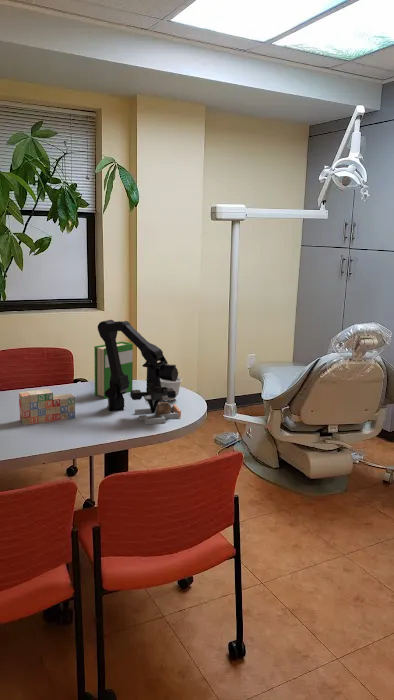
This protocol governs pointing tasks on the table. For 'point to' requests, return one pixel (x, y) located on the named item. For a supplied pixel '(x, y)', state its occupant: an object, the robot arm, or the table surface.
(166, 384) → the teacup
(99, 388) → the hardback book
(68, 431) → the table surface
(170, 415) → the trap lane
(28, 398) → the stack of blocks
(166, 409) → the walnut block
